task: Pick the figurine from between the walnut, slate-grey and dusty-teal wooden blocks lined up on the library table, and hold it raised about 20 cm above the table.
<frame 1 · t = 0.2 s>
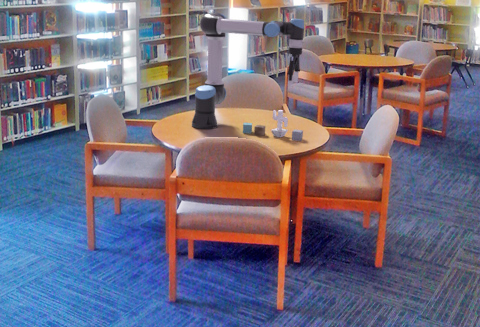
hand: (292, 84, 337), 28 cm above the table, tool pointing down, fingers open, 13 cm apart
walnut block: (259, 134, 335), on the table
dusty-teal block: (247, 132, 340), on the table
figurine: (278, 136, 334), on the table
slate-grey block: (297, 139, 329), on the table
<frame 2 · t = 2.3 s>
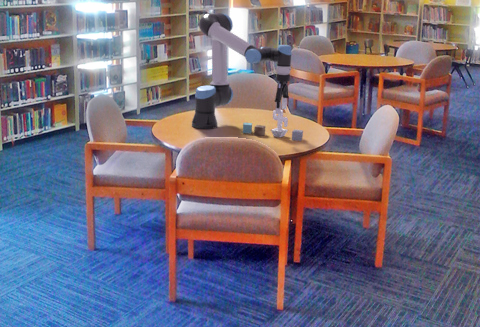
hand: (281, 111, 330), 14 cm above the table, tool pointing down, fingers open, 13 cm apart
nothing on the table moved.
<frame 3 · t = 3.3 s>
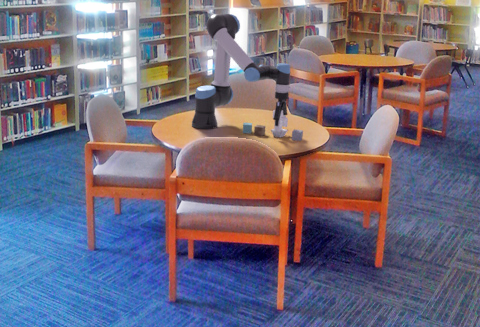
hand: (279, 128, 333), 4 cm above the table, tool pointing down, fingers open, 13 cm apart
nothing on the table moved.
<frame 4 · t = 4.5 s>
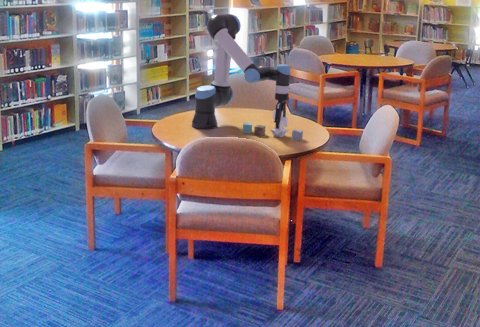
hand: (279, 132, 333), 2 cm above the table, tool pointing down, fingers closed on figurine, 8 cm apart
figurine: (279, 136, 334), on the table, touching gripper
everything else where it was.
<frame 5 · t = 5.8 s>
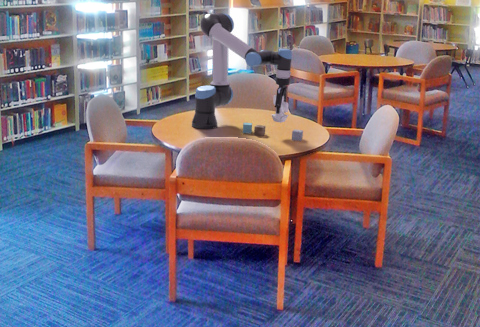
hand: (279, 117, 331), 11 cm above the table, tool pointing down, fingers closed on figurine, 8 cm apart
figurine: (279, 121, 332), point 8 cm above the table, touching gripper
everything else where it was.
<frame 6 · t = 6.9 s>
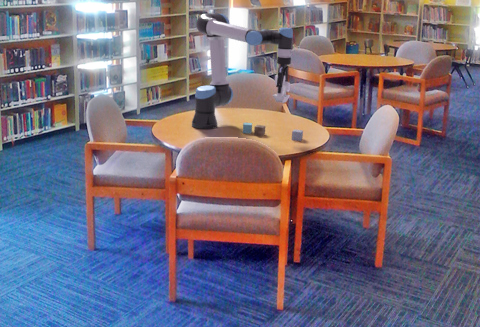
hand: (281, 97, 328), 22 cm above the table, tool pointing down, fingers closed on figurine, 8 cm apart
figurine: (281, 102, 328), point 20 cm above the table, touching gripper
everything else where it was.
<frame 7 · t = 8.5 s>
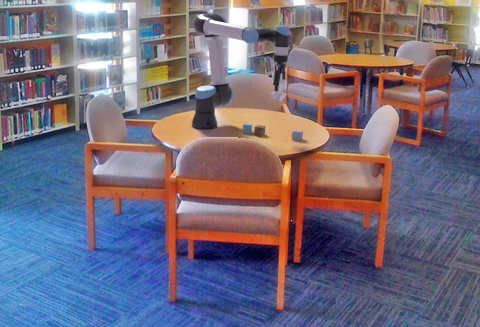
hand: (278, 95, 328), 23 cm above the table, tool pointing down, fingers closed on figurine, 8 cm apart
figurine: (277, 99, 329), point 21 cm above the table, touching gripper
everything else where it was.
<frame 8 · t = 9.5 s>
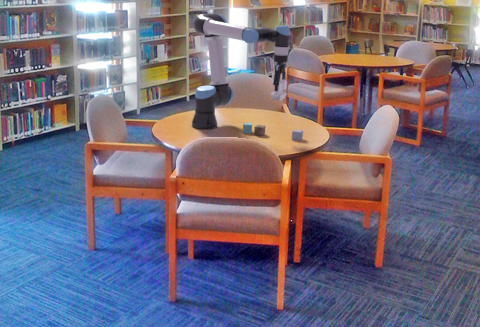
hand: (278, 95, 328), 23 cm above the table, tool pointing down, fingers closed on figurine, 8 cm apart
figurine: (277, 99, 329), point 21 cm above the table, touching gripper
everything else where it was.
at the end: the gripper is holding figurine; figurine point 20.7 cm above the table; slate-grey block moved 0.1 cm from its start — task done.
